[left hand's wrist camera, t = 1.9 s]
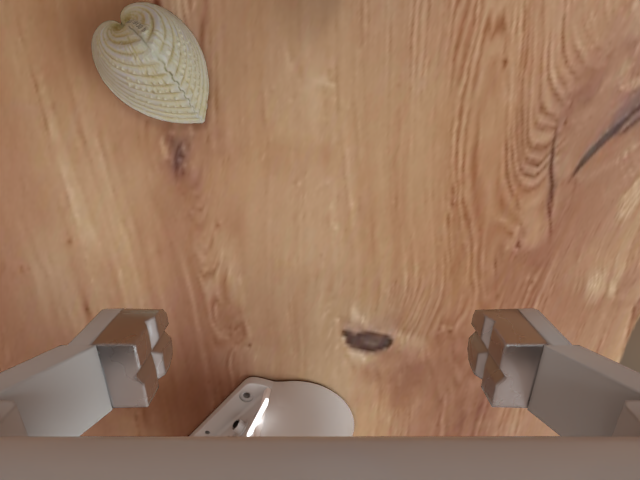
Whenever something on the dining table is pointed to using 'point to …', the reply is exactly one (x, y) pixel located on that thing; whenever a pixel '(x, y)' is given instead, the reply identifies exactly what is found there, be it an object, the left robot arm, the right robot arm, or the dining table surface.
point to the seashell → (153, 64)
